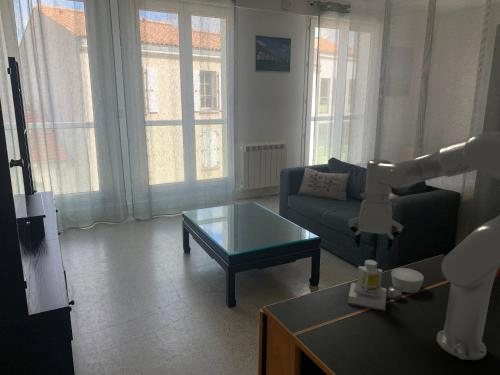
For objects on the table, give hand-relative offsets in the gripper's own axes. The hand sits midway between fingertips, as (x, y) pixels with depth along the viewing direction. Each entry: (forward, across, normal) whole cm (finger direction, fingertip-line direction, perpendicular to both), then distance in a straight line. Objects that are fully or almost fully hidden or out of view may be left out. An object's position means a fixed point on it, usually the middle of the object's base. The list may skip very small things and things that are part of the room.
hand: (373, 247), depth 126 cm
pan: (+17, -1, 0) cm, 17 cm away
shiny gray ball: (+21, +8, +7) cm, 23 cm away
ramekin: (+21, +12, +16) cm, 29 cm away
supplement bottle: (+16, -1, 0) cm, 16 cm away
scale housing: (+20, -1, +1) cm, 20 cm away
